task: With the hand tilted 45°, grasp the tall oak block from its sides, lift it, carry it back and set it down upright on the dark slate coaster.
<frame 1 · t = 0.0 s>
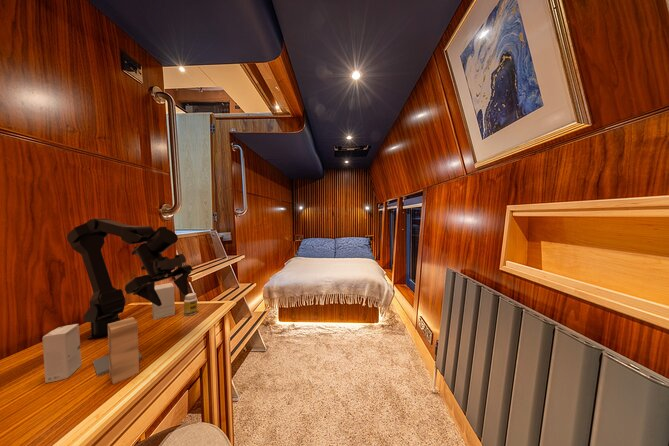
hand: (174, 300, 72), 15 cm above the table, tool tilted 35°, fingers open, 9 cm apart
supplement bottle: (191, 314, 95), on the table
oak block: (124, 374, 59), on the table
slate coaster: (117, 361, 64), on the table
supplement box: (163, 315, 94), on the table
skincare box: (64, 374, 59), on the table
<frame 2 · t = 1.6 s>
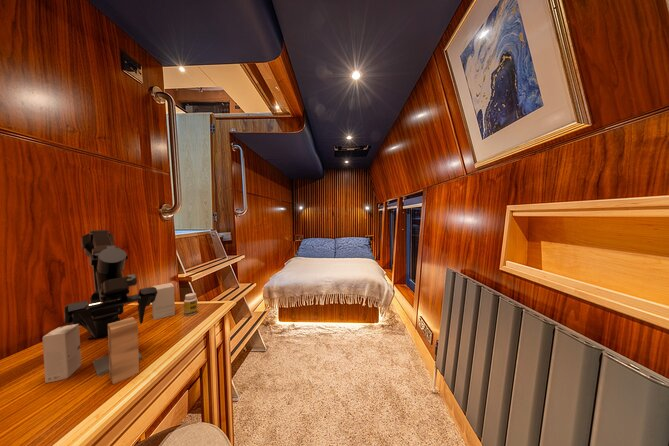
hand: (120, 329, 61), 11 cm above the table, tool tilted 45°, fingers open, 9 cm apart
nothing on the table moved.
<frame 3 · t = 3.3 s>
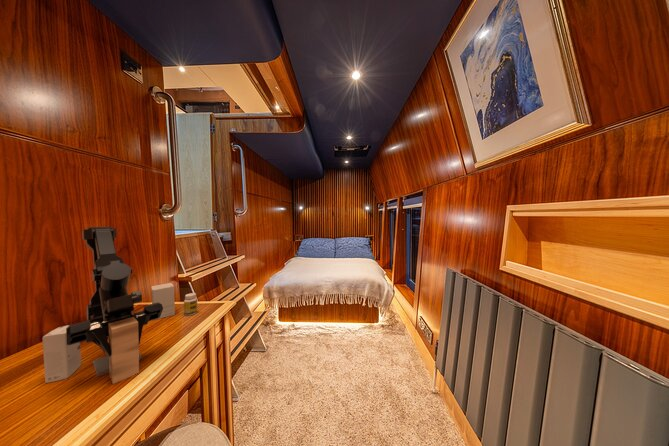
hand: (124, 350, 57), 7 cm above the table, tool tilted 45°, fingers closed on oak block, 5 cm apart
oak block: (124, 374, 59), on the table, touching gripper
everything else where it was.
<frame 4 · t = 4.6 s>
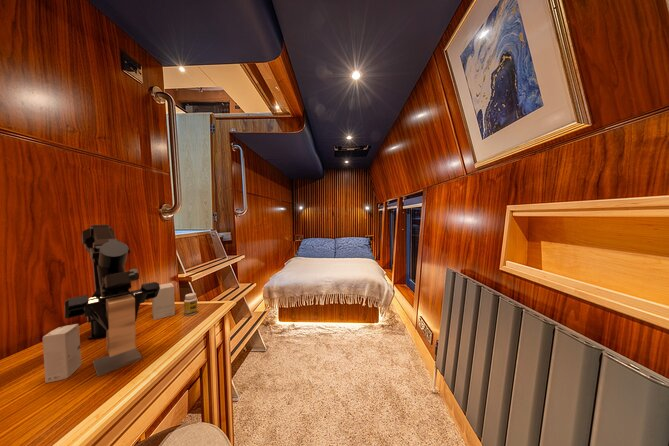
hand: (121, 325, 59), 13 cm above the table, tool tilted 45°, fingers closed on oak block, 5 cm apart
oak block: (121, 348, 60), point 6 cm above the table, touching gripper
everything else where it was.
when the fingers open (8 cm above the table, at t = 6.5 s): oak block stays where it is, resting on slate coaster.
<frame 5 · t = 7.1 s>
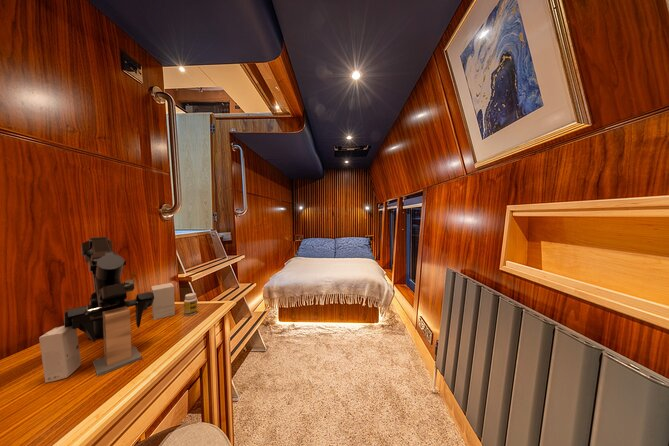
hand: (117, 333, 63), 9 cm above the table, tool tilted 45°, fingers open, 9 cm apart
oak block: (118, 358, 64), point 1 cm above the table, touching slate coaster
skincare box: (64, 373, 59), on the table, touching gripper
everything else where it was.
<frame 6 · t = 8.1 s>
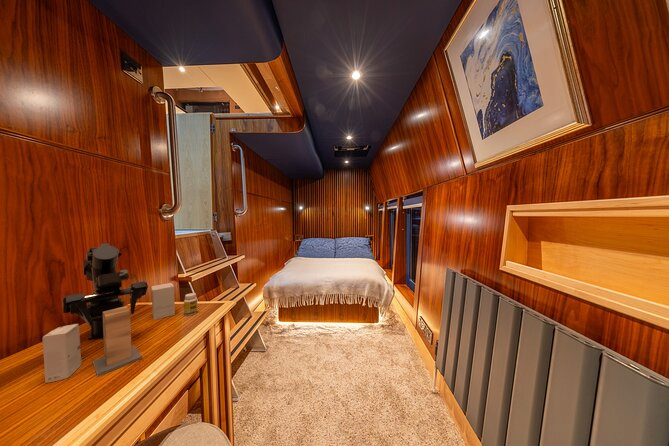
hand: (113, 319, 67), 11 cm above the table, tool tilted 45°, fingers open, 9 cm apart
skincare box: (64, 374, 59), on the table
everything else where it was.
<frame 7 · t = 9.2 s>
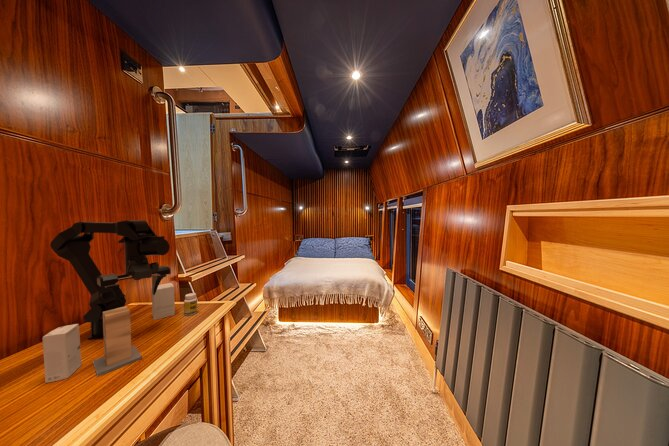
hand: (137, 298, 78), 13 cm above the table, tool pointing down, fingers open, 9 cm apart
nothing on the table moved.
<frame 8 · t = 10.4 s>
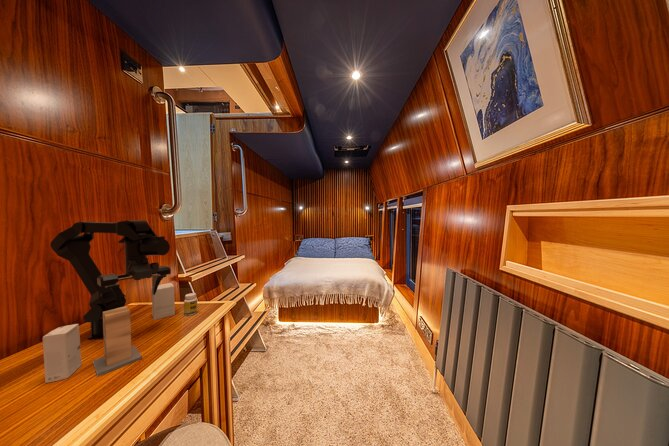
hand: (137, 298, 78), 13 cm above the table, tool pointing down, fingers open, 9 cm apart
nothing on the table moved.
at the end: oak block inside the target area on the slate coaster (0.2 cm from its centre), point 0.8 cm above the slate coaster's base; oak block tilted 0°; the gripper is holding nothing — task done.
